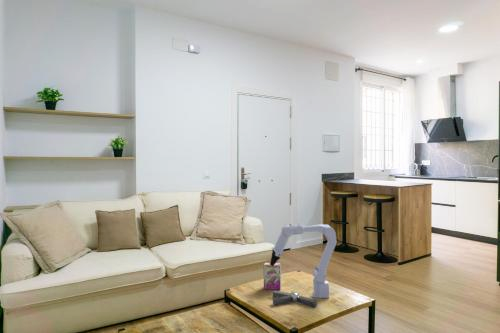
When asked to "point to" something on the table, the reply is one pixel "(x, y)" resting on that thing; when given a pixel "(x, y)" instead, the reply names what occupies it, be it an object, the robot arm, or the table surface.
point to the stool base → (294, 300)
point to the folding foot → (280, 294)
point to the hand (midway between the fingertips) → (271, 263)
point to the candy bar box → (272, 276)
